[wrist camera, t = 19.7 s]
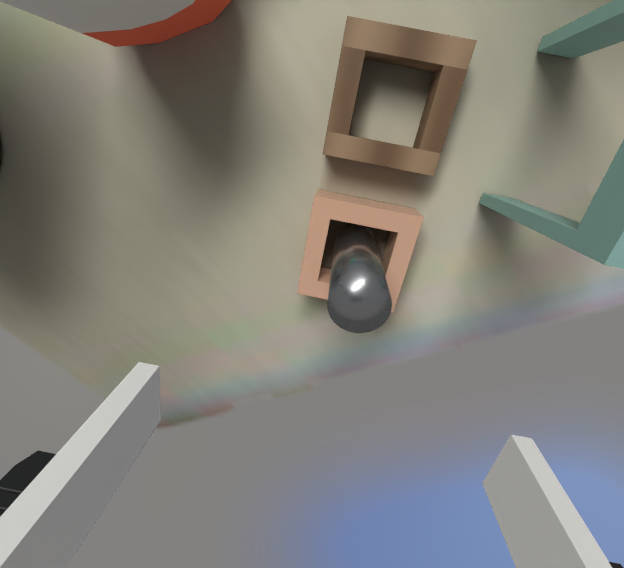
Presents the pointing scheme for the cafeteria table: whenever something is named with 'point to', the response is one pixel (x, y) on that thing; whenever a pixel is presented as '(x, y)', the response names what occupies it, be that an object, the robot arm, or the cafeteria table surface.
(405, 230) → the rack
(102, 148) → the cafeteria table surface
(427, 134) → the socket block
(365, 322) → the metal cylinder
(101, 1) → the french fries container
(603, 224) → the teal green arch
